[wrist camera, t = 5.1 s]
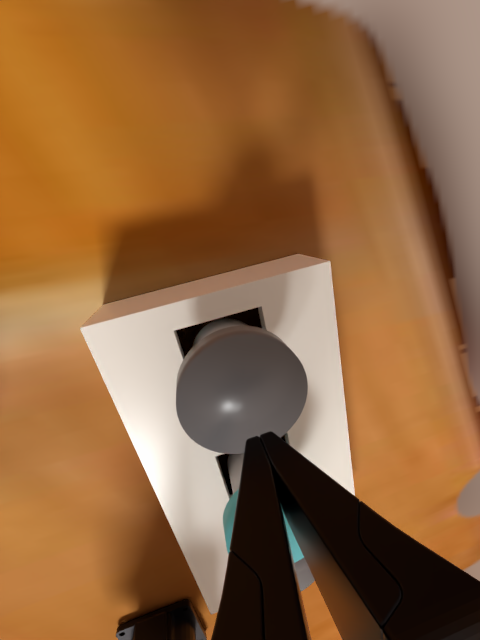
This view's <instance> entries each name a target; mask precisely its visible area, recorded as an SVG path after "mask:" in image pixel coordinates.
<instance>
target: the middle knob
mask: <svg viewBox="0 0 480 640" xmlns="http://www.w3.org/2000/svg"><path fill="white" fill-rule="evenodd" d="M243 457H244V453H242V454H229V457H228V461H227V466H228V471H229V476H230V481H231V486H232V491H233V495H232V497H231V498H230V499H229V501H228V503H227V504H226V507H225V509H224V513H223V527H224V534H225V540H226V547H227V552H228V554H229V552H230V543H231V536H232V530H233V523H234V516H235V510H236V503H237V497H238V490H239V483H240V477H241V470H242V464H243ZM282 512H283V510H282ZM283 516H284V520H285V524H286V529H287V533H288V538H289V542H290V547H291V551H292V556H293V560H294V563H295V562H297V561H299V560H301V559H302V558H304V556H303V554H302V552H301V549H300V547H299V545H298V543H297V541H296V539H295V537H294V534H293V532H292V530H291V528H290V526H289V524H288V522H287V519H286V517H285V515H284V513H283Z"/></svg>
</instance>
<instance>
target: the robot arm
mask: <svg viewBox="0 0 480 640" xmlns="http://www.w3.org/2000/svg"><path fill="white" fill-rule="evenodd" d="M282 510H283V512H282ZM283 513H284V515H285V517H286V519H287V522H288V524H289V526H290V528H291V530H292V532H293V534H294V537H295V539H296V541H297V543H298V545H299V547H300V549H301V552H302V554H303V556H304V558H305V560H306V562H307V564H308V566H309V569H310V571H311V573H312V575H313V577H314V579H315V581H316V584H317V586H318V588H319V590H320V592H321V594H322V596H323V599H324V601H325V603H326V605H327V607H328V609H329V611H330V613H331V616H332V618H333V620H334V622H335V624H336V626H337V628H338V631H339V633H340V635H341V637H342V639H343V640H480V581H478V580H477V579H475V578H474V577H472V576H471V575H469V574H468V573H466V572H464V571H463V570H461V569H460V568H458V567H457V566H455V565H453V564H452V563H450V562H449V561H447V560H446V559H444V558H442V557H441V556H439V555H438V554H436V553H435V552H433V551H432V550H430V549H428V548H427V547H425V546H424V545H422V544H421V543H419V542H418V541H416V540H415V539H413V538H412V537H410V536H409V535H407V534H406V533H404V532H403V531H401V530H400V529H398V528H397V527H395V526H394V525H392V524H391V523H390V522H388V521H387V520H386V519H384V518H383V517H381V516H380V515H379V514H377V513H376V512H375V511H373V510H372V509H371V508H370V507H368V506H367V505H366V504H365V503H363V502H362V501H360V502H359V499H358V498H357V497H355V496H354V495H353V494H352V493H350V492H349V491H348V490H346V489H345V488H344V487H343V486H341V485H340V484H339V483H338V482H336V481H335V480H334V479H332V478H331V477H330V476H329V475H327V474H326V473H325V472H323V471H322V470H321V469H320V468H318V467H317V466H316V465H315V464H313V463H312V462H311V461H309V460H308V459H307V458H306V457H304V456H303V455H302V454H300V453H299V452H298V451H297V450H295V449H294V448H293V447H291V446H290V445H289V444H288V443H286V442H285V441H284V440H283V439H281V438H280V437H279V436H277V435H276V434H275V433H274V432H272V431H269V432H266V433H263V434H261V435H260V437H259V436H254V437H251V438H249V439H247V440H246V444H245V450H244V457H243V464H242V470H241V477H240V483H239V490H238V497H237V503H236V510H235V516H234V523H233V530H232V536H231V543H230V552H229V555H228V562H227V568H226V574H225V579H224V585H223V591H222V596H221V600H220V605H219V609H218V613H217V618H216V622H215V626H214V630H213V634H212V638H211V640H311V636H310V632H309V627H308V623H307V618H306V614H305V609H304V605H303V601H302V596H301V592H300V587H299V583H298V578H297V574H296V569H295V565H294V560H293V556H292V551H291V547H290V542H289V538H288V533H287V529H286V524H285V520H284V516H283ZM116 637H117V638H118V640H207V639H206V632H205V630H204V628H203V626H202V624H201V622H200V620H199V618H198V616H197V614H196V612H195V610H194V608H193V606H192V604H191V602H190V601H189V600H183V601H180V602H178V603H175V604H173V605H170V606H168V607H165V608H163V609H160V610H158V611H155V612H153V613H150V614H148V615H145V616H142V617H140V618H137V619H135V620H132V621H130V622H127V623H125V624H122V625H120V626H119V627H118V628H117V632H116Z"/></svg>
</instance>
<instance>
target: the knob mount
mask: <svg viewBox="0 0 480 640" xmlns="http://www.w3.org/2000/svg"><path fill="white" fill-rule="evenodd" d="M257 307H258V310H259V315H260V320H261V325H262V329H265V330H267V331H269V332H272V333H273V334H275V335H276V336H278V337H279V338H280V339H281V340H282V341H283V342H284V343H285V344H286V345H287V346H288V347H289V348H290V349H291V350H292V351H293V353H294V354H295V355H296V356H297V357H298V359H299V360H300V362H301V363H302V365H303V367H304V370H305V372H306V376H307V383H308V392H307V398H306V403H305V406H304V408H303V411H302V413H301V415H300V416H299V418H298V420H297V421H296V423H295V424H294V425H293V426H292V428H291V429H290V430H289V431H288V432H287V433H286V434H284V435H285V440H286V443H288V444H289V445H290V446H291V447H293V448H294V449H295V450H297V451H298V452H299V453H300V454H302V455H303V456H304V457H306V458H307V459H308V460H309V461H311V462H312V463H313V464H315V465H316V466H317V467H318V468H320V469H321V470H322V471H323V472H325V473H326V474H327V475H329V476H330V477H331V478H332V479H334V480H335V481H336V482H338V483H339V484H340V485H341V486H343V487H344V488H345V489H346V490H348V491H349V492H350V493H352V494H353V495H354V496H355V492H354V482H353V473H352V463H351V454H350V444H349V435H348V425H347V416H346V406H345V397H344V387H343V378H342V368H341V359H340V350H339V340H338V331H337V321H336V312H335V302H334V293H333V283H332V274H331V264H330V261H328V260H324V259H319V258H315V257H310V256H306V255H302V254H295V255H291V256H287V257H283V258H280V259H276V260H272V261H268V262H264V263H260V264H257V265H253V266H249V267H245V268H241V269H237V270H234V271H230V272H226V273H222V274H218V275H215V276H211V277H207V278H203V279H199V280H195V281H192V282H188V283H184V284H180V285H176V286H172V287H169V288H165V289H161V290H157V291H153V292H149V293H146V294H142V295H138V296H134V297H130V298H126V299H123V300H119V301H115V302H111V303H107V304H103V305H102V306H101V307H100V308H99V309H98V310H97V311H96V312H95V313H94V314H93V315H92V316H91V317H90V318H89V319H88V320H87V321H86V322H85V323H84V324H83V325H82V326H81V327H80V329H81V332H82V334H83V336H84V338H85V340H86V342H87V345H88V347H89V349H90V351H91V353H92V356H93V358H94V360H95V362H96V364H97V366H98V369H99V371H100V373H101V375H102V377H103V380H104V382H105V384H106V386H107V388H108V390H109V393H110V395H111V397H112V399H113V401H114V404H115V406H116V408H117V410H118V412H119V414H120V417H121V419H122V421H123V423H124V425H125V428H126V430H127V432H128V434H129V436H130V438H131V441H132V443H133V445H134V447H135V449H136V452H137V454H138V456H139V458H140V460H141V462H142V465H143V467H144V469H145V471H146V473H147V476H148V478H149V480H150V482H151V484H152V486H153V489H154V491H155V493H156V495H157V497H158V500H159V502H160V504H161V506H162V508H163V510H164V513H165V515H166V517H167V519H168V521H169V524H170V526H171V528H172V530H173V532H174V534H175V537H176V539H177V541H178V543H179V545H180V548H181V550H182V552H183V554H184V556H185V558H186V561H187V563H188V565H189V567H190V569H191V572H192V574H193V576H194V578H195V580H196V582H197V585H198V587H199V589H200V591H201V593H202V596H203V598H204V600H205V602H206V604H207V606H208V609H209V611H210V613H211V614H214V613H216V612H218V609H219V605H220V600H221V596H222V591H223V585H224V579H225V574H226V568H227V562H228V555H229V554H228V552H227V547H226V540H225V534H224V527H223V513H224V509H225V507H226V504H227V503H228V501H229V499H230V498H231V497H232V495H233V494H231V495H230V494H229V491H228V488H227V485H226V481H225V478H224V475H223V472H222V469H221V466H220V463H219V460H218V457H217V456H219V455H222V454H225V453H218V452H215V451H211V450H209V449H206V448H204V447H202V446H200V445H199V444H197V443H196V442H195V441H193V440H192V439H191V438H190V437H189V436H188V435H187V434H186V432H185V431H184V429H183V428H182V426H181V424H180V422H179V419H178V416H177V411H176V380H177V375H178V371H179V368H180V365H181V363H182V361H183V360H184V358H185V356H184V353H183V350H182V347H181V344H180V341H179V338H178V335H177V332H176V330H178V329H182V328H185V327H189V326H193V325H196V324H200V323H203V322H207V321H210V320H214V319H218V318H221V317H225V316H228V315H232V314H236V313H239V312H243V311H246V310H250V309H253V308H257Z"/></svg>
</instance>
